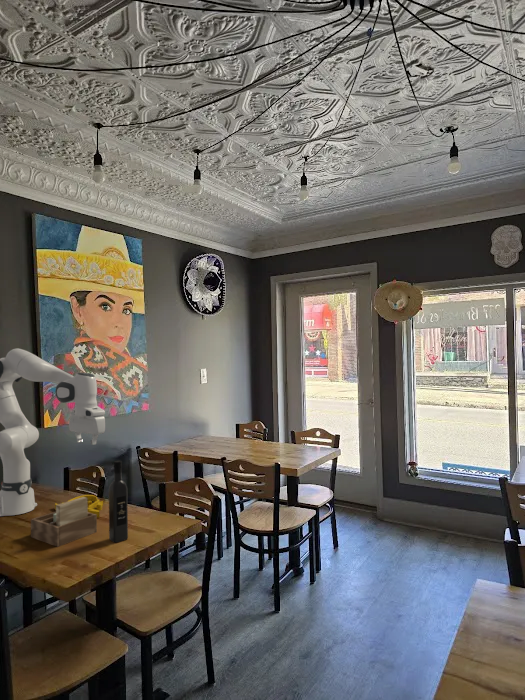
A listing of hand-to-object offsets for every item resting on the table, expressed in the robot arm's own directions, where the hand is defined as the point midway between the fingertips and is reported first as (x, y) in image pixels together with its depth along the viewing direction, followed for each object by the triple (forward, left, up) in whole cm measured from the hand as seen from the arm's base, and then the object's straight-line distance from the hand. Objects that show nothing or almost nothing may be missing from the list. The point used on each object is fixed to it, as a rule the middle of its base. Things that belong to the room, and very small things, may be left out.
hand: (86, 443), depth 193 cm
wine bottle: (+25, -4, -34) cm, 43 cm away
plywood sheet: (+7, -12, -34) cm, 37 cm away
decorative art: (-17, +11, -35) cm, 40 cm away
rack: (+1, -12, -34) cm, 36 cm away
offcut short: (+2, -12, -28) cm, 31 cm away
